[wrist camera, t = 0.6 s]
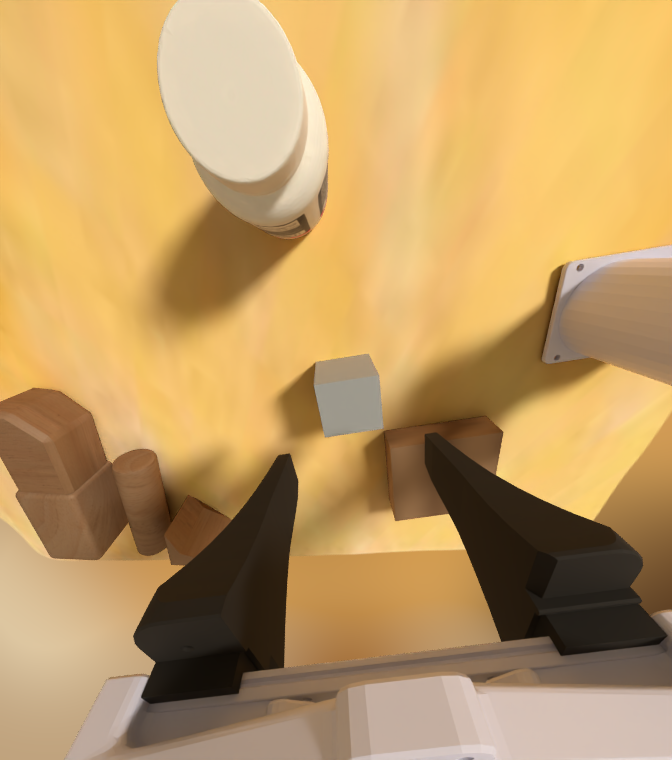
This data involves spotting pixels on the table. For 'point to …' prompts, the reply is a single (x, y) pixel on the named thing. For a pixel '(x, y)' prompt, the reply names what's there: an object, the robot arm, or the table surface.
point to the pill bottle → (245, 113)
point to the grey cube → (348, 395)
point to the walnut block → (407, 462)
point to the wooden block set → (92, 485)
